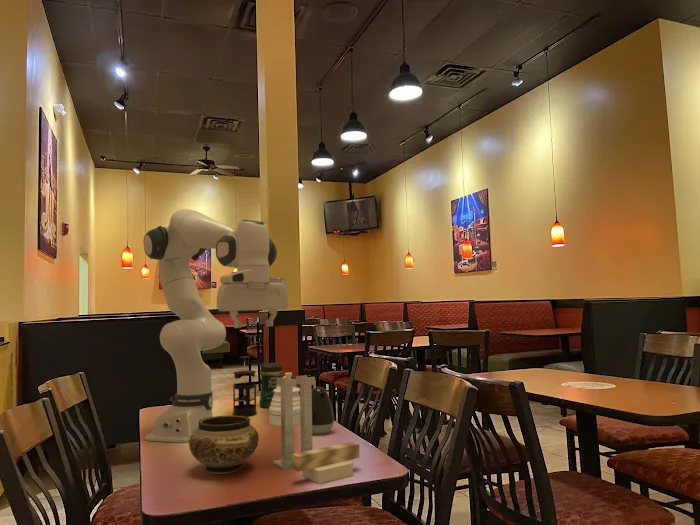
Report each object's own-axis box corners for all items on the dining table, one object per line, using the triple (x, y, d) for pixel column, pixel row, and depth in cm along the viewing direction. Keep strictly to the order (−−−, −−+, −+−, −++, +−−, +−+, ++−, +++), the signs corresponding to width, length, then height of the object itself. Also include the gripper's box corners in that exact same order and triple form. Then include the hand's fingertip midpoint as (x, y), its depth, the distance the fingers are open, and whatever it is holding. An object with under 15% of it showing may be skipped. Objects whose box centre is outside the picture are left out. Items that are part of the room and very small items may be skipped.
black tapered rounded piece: (311, 438, 167) (310, 390, 168) (299, 431, 176) (298, 386, 177) (339, 433, 171) (338, 387, 173) (326, 427, 181) (325, 383, 182)
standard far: (302, 464, 139) (301, 378, 141) (292, 459, 144) (290, 376, 146) (321, 460, 142) (320, 376, 144) (310, 455, 147) (309, 374, 149)
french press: (260, 415, 203) (259, 356, 205) (236, 418, 199) (236, 358, 201) (251, 410, 214) (251, 354, 216) (229, 413, 210) (229, 356, 212)
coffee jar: (262, 409, 216) (262, 364, 218) (258, 406, 223) (257, 362, 225) (285, 406, 220) (284, 362, 222) (279, 403, 227) (279, 361, 229)
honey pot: (310, 421, 191) (309, 372, 192) (279, 427, 183) (279, 375, 184) (292, 416, 201) (291, 369, 202) (263, 421, 193) (262, 372, 195)
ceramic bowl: (260, 489, 128) (274, 428, 131) (189, 482, 121) (205, 418, 124) (238, 464, 150) (251, 411, 153) (177, 456, 143) (191, 402, 146)
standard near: (282, 468, 136) (281, 381, 138) (272, 463, 141) (271, 378, 142) (302, 464, 139) (301, 378, 141) (292, 459, 144) (290, 376, 146)
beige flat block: (318, 483, 123) (318, 470, 124) (302, 475, 130) (302, 463, 130) (353, 475, 129) (352, 462, 129) (335, 467, 136) (335, 455, 136)
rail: (298, 471, 123) (298, 456, 124) (292, 468, 126) (292, 453, 126) (359, 457, 134) (359, 444, 134) (352, 455, 136) (352, 441, 136)
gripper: (281, 278, 152) (282, 325, 151) (214, 277, 140) (214, 328, 139) (292, 276, 147) (292, 325, 145) (222, 276, 135) (223, 329, 134)
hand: (253, 327), depth 142 cm, fingers open, 8 cm apart
